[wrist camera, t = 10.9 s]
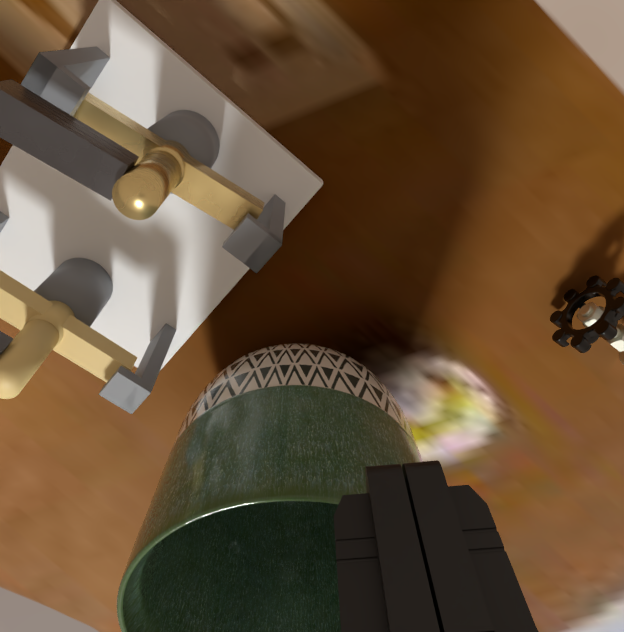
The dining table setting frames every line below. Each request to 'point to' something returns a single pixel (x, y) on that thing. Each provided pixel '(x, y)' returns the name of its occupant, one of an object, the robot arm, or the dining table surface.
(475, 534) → the robot arm
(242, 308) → the dining table surface
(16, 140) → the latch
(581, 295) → the valve
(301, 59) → the dining table surface
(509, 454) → the dining table surface
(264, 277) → the dining table surface
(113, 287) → the lock board
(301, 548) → the planter
